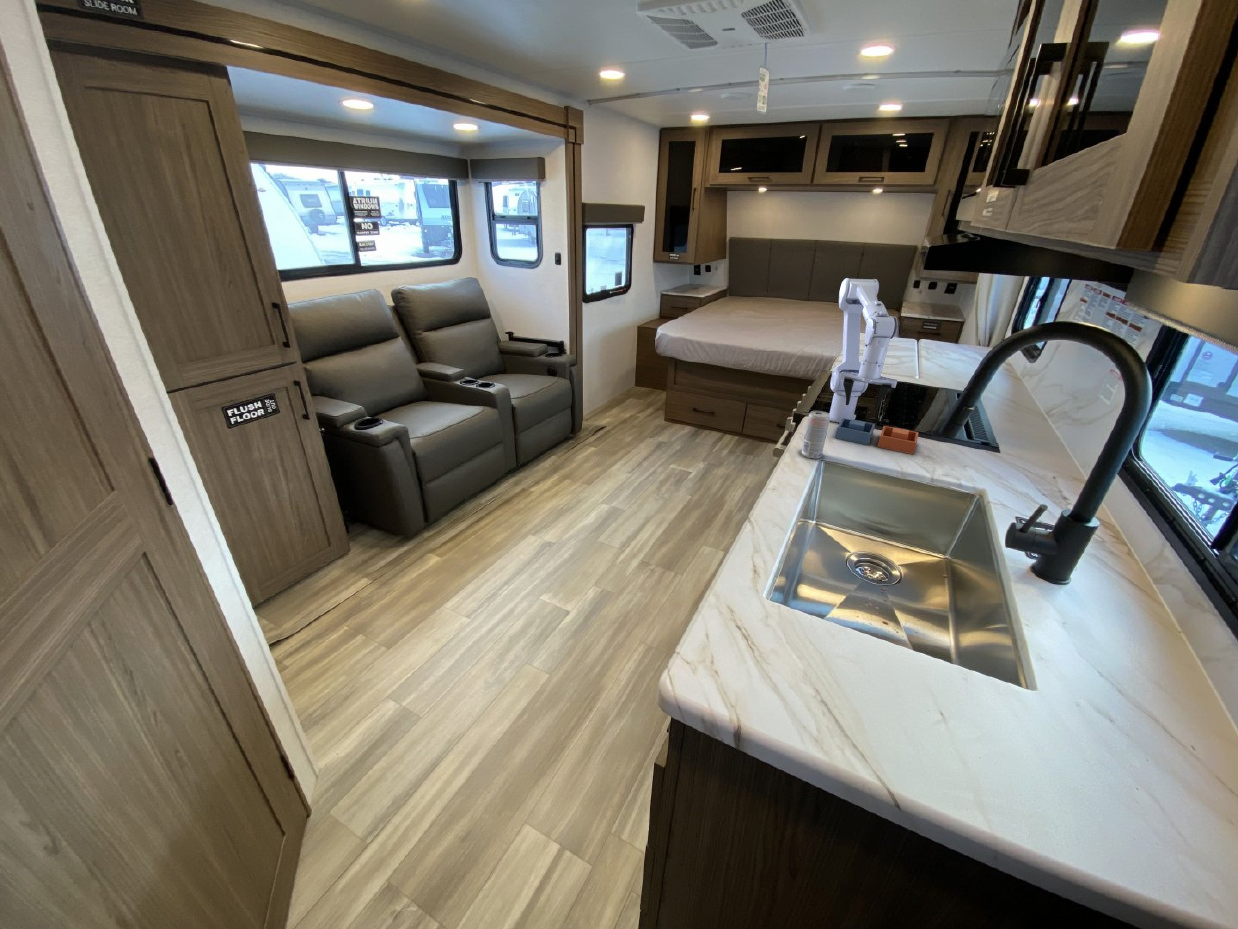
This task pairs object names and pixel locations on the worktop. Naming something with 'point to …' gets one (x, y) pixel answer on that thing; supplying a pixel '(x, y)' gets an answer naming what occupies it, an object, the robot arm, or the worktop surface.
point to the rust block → (900, 433)
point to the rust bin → (897, 441)
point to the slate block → (856, 425)
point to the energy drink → (815, 434)
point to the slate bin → (854, 432)
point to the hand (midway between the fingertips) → (861, 406)
